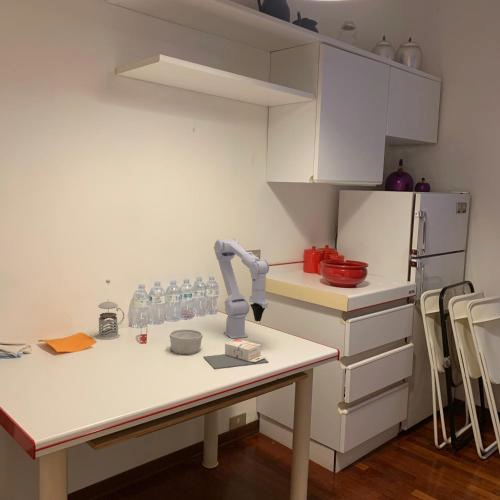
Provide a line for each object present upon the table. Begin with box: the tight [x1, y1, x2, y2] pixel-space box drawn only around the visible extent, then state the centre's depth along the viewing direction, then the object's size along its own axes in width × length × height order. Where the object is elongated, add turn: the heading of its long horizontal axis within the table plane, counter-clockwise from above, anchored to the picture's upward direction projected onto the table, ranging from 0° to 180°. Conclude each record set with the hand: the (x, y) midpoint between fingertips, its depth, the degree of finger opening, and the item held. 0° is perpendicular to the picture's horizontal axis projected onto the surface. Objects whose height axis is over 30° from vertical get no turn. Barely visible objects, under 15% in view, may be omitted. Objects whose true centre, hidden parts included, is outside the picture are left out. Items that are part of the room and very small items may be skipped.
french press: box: [95, 279, 125, 341], centre depth 217 cm, size 10×12×25 cm
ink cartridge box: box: [224, 338, 267, 362], centre depth 198 cm, size 9×5×15 cm
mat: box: [203, 353, 270, 370], centre depth 195 cm, size 13×22×1 cm, turn 113°
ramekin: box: [169, 328, 203, 355], centre depth 204 cm, size 13×13×7 cm
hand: (257, 320), depth 213 cm, fingers closed
